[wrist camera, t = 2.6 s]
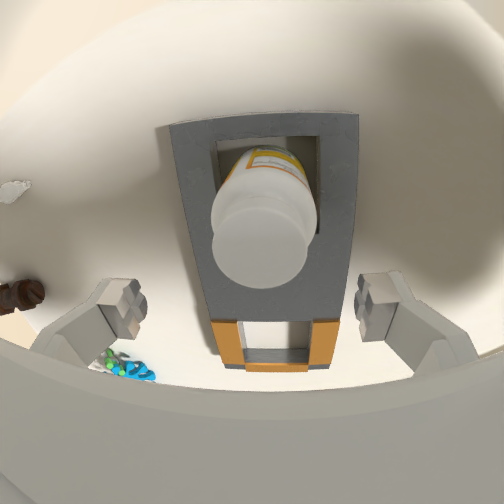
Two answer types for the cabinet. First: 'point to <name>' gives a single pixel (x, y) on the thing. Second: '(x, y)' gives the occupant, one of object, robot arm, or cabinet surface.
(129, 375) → the blue lobed piece
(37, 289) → the bolt
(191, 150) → the gray and orange holder
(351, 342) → the cabinet surface
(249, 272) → the supplement bottle
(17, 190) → the stone spearhead
